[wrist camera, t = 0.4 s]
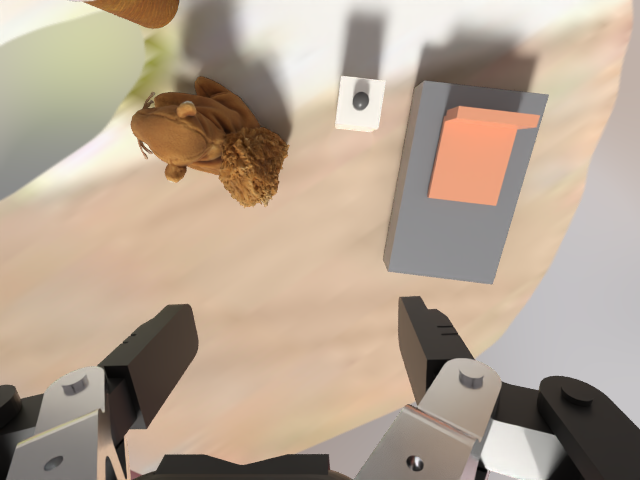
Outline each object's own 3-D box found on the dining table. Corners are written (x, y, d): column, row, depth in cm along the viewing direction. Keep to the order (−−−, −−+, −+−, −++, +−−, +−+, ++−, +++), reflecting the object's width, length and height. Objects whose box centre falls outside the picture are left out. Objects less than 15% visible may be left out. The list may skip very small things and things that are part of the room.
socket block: (414, 88, 34) (424, 80, 30) (524, 100, 34) (548, 94, 30) (383, 259, 40) (388, 271, 36) (477, 271, 39) (492, 284, 36)
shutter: (445, 110, 30) (459, 105, 27) (517, 119, 30) (540, 115, 27) (427, 196, 33) (437, 202, 29) (493, 204, 33) (511, 211, 29)
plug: (340, 89, 34) (341, 72, 26) (376, 94, 34) (388, 77, 26) (335, 128, 35) (335, 122, 28) (370, 132, 35) (380, 127, 28)
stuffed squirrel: (197, 72, 35) (117, 28, 22) (311, 131, 36) (297, 121, 23) (169, 155, 37) (84, 159, 25) (276, 208, 38) (247, 236, 26)
